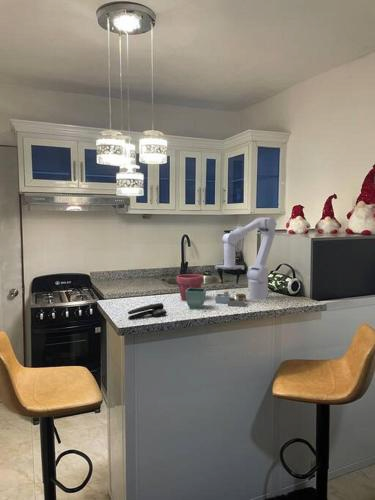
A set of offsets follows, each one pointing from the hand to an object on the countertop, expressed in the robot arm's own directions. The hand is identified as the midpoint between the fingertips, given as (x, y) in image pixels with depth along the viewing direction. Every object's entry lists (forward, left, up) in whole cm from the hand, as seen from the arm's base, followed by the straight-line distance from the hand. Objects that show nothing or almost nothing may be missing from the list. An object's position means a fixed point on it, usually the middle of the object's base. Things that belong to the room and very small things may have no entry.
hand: (229, 283), depth 201 cm
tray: (-4, +7, -10) cm, 13 cm away
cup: (+3, +2, -10) cm, 11 cm away
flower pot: (+15, +15, -10) cm, 24 cm away
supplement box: (-15, -31, -10) cm, 36 cm away
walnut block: (-6, -2, -10) cm, 12 cm away
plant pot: (+21, -4, -10) cm, 24 cm away
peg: (-4, +7, -9) cm, 12 cm away
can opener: (+35, +35, -10) cm, 50 cm away
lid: (+2, -8, -10) cm, 13 cm away
